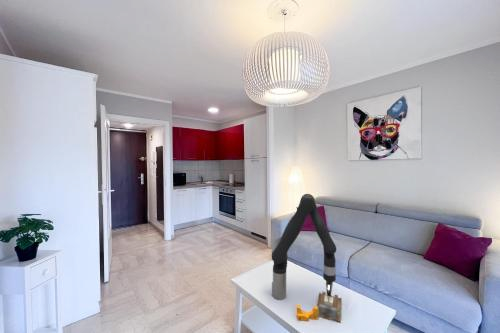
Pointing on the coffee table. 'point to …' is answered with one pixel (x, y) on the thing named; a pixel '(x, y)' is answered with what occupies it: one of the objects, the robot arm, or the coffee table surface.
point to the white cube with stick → (328, 301)
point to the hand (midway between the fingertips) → (329, 298)
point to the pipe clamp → (307, 314)
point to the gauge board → (329, 308)
